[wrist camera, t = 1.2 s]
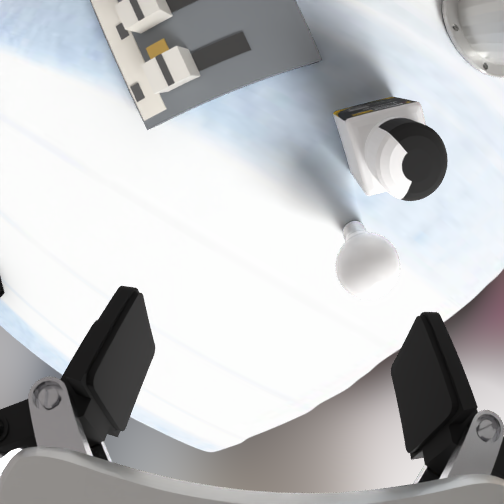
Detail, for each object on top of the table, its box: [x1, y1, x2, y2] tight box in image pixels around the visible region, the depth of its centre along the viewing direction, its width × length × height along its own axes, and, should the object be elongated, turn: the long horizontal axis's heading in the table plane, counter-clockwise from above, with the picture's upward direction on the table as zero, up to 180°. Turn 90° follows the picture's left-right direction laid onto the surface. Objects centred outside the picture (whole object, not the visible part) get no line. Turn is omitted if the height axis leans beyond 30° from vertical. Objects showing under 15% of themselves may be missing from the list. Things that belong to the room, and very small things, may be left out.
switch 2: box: [141, 46, 201, 94], centre depth 23 cm, size 4×3×4 cm
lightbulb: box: [336, 221, 400, 299], centre depth 30 cm, size 6×6×11 cm
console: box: [90, 0, 322, 130], centre depth 22 cm, size 18×22×3 cm
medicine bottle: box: [333, 97, 447, 201], centre depth 24 cm, size 7×7×12 cm
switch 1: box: [115, 0, 173, 33], centre depth 20 cm, size 4×3×4 cm
